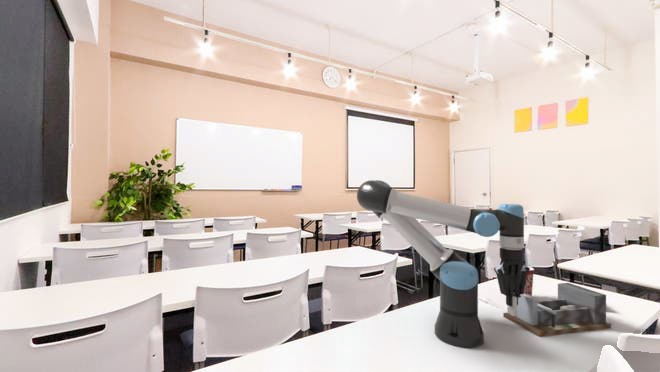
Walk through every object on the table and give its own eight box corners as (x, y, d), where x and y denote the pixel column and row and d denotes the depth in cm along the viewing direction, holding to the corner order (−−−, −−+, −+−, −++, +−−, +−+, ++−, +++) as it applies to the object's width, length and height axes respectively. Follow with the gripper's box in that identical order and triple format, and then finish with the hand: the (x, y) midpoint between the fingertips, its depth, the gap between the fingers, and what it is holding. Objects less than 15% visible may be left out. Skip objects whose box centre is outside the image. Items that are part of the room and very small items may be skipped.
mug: (520, 293, 145) (520, 264, 145) (539, 299, 136) (539, 269, 136) (499, 296, 141) (499, 266, 141) (516, 303, 133) (517, 271, 133)
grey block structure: (539, 336, 103) (539, 302, 103) (503, 316, 119) (503, 286, 119) (611, 328, 109) (611, 295, 109) (567, 310, 125) (567, 281, 125)
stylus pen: (475, 298, 138) (475, 294, 138) (480, 297, 139) (480, 293, 139) (502, 313, 124) (502, 308, 124) (507, 312, 125) (508, 308, 125)
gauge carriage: (542, 330, 104) (542, 303, 104) (516, 317, 115) (517, 292, 115) (562, 328, 106) (562, 301, 106) (536, 315, 116) (536, 291, 116)
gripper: (503, 250, 105) (504, 320, 105) (536, 249, 108) (536, 317, 108) (488, 246, 112) (488, 311, 112) (519, 245, 115) (519, 308, 115)
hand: (512, 314), depth 110 cm, fingers closed
